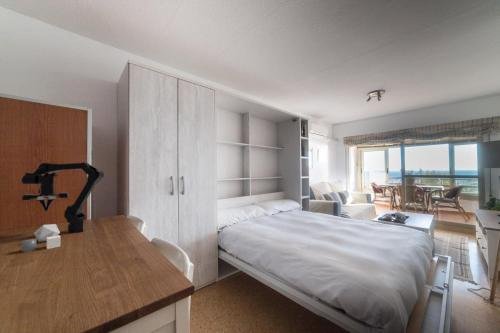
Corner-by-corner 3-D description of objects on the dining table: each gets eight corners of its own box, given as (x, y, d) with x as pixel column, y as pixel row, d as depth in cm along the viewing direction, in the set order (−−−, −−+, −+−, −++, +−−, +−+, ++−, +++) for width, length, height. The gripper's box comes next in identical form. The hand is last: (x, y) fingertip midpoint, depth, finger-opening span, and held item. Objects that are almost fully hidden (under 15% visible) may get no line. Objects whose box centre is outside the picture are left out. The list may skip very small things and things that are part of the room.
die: (35, 241, 105) (26, 229, 99) (55, 229, 112) (48, 217, 107) (46, 248, 103) (37, 236, 97) (65, 235, 110) (58, 224, 104)
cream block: (59, 244, 99) (59, 235, 99) (60, 246, 96) (60, 237, 96) (46, 246, 96) (46, 237, 96) (47, 249, 93) (47, 239, 93)
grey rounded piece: (37, 247, 94) (37, 238, 94) (34, 250, 91) (35, 240, 91) (23, 250, 91) (23, 240, 92) (20, 253, 88) (20, 242, 88)
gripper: (69, 183, 130) (69, 207, 129) (27, 184, 119) (26, 210, 118) (68, 184, 121) (67, 209, 121) (22, 185, 110) (21, 213, 109)
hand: (46, 210), depth 117 cm, fingers closed
